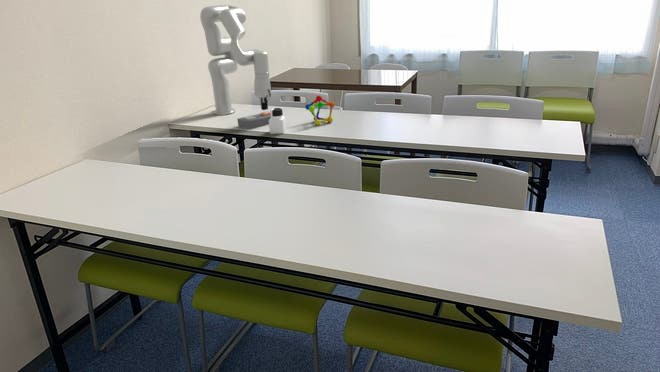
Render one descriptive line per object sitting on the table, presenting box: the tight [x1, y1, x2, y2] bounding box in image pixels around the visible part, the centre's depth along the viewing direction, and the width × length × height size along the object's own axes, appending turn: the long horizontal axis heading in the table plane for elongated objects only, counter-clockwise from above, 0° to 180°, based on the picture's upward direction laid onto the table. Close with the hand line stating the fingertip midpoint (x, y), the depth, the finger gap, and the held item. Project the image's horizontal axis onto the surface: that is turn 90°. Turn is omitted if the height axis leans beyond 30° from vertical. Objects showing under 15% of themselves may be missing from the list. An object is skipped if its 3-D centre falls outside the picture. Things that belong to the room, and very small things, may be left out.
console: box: [236, 113, 271, 130], centre depth 263 cm, size 10×20×4 cm, turn 130°
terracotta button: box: [259, 110, 271, 116], centre depth 265 cm, size 4×4×4 cm
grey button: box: [244, 115, 256, 120], centre depth 260 cm, size 4×4×4 cm
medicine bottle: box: [268, 107, 287, 135], centre depth 245 cm, size 7×7×12 cm
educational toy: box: [305, 94, 336, 126], centre depth 258 cm, size 16×13×15 cm
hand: (264, 109), depth 264 cm, fingers closed
